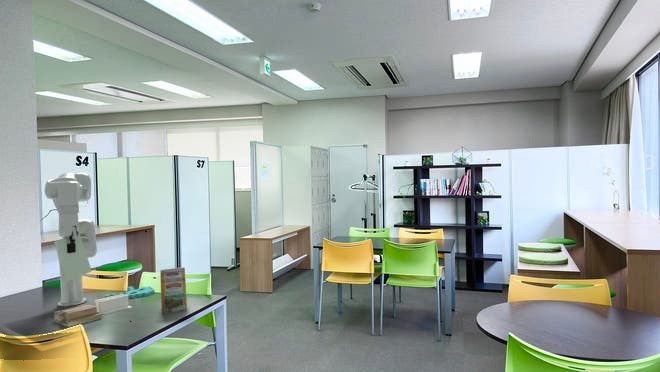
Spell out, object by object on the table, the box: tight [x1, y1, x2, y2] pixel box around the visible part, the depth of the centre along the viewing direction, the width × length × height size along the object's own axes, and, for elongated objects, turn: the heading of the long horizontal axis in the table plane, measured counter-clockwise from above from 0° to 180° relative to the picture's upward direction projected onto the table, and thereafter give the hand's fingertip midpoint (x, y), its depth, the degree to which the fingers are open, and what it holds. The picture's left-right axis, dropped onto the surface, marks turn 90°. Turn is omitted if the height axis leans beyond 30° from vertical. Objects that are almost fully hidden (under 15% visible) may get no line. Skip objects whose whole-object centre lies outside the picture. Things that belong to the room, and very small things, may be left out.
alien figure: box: [104, 286, 156, 300], centre depth 232 cm, size 20×2×20 cm
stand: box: [94, 294, 133, 315], centre depth 199 cm, size 9×13×6 cm
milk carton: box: [159, 266, 188, 315], centre depth 199 cm, size 11×11×19 cm
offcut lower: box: [63, 312, 98, 325], centre depth 182 cm, size 6×11×2 cm, turn 143°
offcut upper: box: [63, 304, 98, 319], centre depth 182 cm, size 6×11×2 cm, turn 143°
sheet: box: [54, 233, 92, 281], centre depth 187 cm, size 1×10×18 cm, turn 142°
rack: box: [53, 304, 103, 328], centre depth 184 cm, size 14×13×6 cm
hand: (70, 252), depth 186 cm, fingers closed on sheet, 1 cm apart
